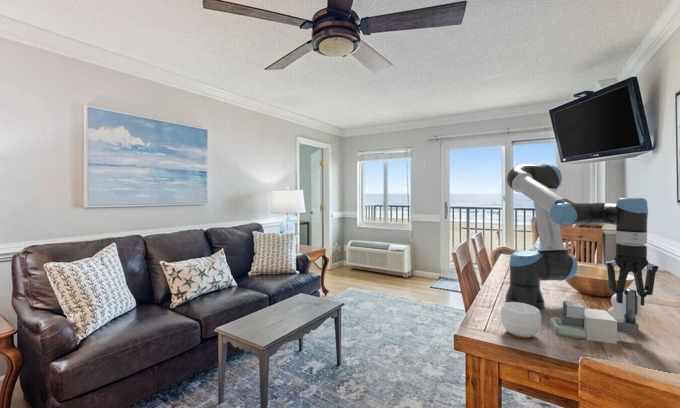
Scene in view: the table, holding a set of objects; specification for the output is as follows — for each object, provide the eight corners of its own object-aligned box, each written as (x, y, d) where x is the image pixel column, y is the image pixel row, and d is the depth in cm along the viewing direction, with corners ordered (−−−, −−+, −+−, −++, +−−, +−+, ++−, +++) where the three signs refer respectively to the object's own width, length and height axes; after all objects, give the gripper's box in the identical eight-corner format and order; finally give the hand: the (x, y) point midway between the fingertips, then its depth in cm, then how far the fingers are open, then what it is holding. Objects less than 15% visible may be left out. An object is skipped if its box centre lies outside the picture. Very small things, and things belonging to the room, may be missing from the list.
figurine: (623, 322, 118) (623, 291, 118) (643, 330, 110) (643, 297, 110) (605, 322, 118) (605, 291, 118) (624, 331, 110) (624, 298, 110)
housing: (586, 339, 104) (586, 317, 104) (577, 327, 113) (577, 307, 113) (616, 344, 101) (617, 321, 101) (604, 331, 110) (605, 310, 110)
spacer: (566, 316, 108) (567, 305, 108) (563, 311, 113) (563, 300, 113) (584, 318, 106) (584, 307, 106) (579, 313, 111) (579, 302, 111)
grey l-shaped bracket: (563, 324, 109) (563, 285, 109) (561, 321, 112) (561, 282, 112) (638, 334, 101) (639, 292, 101) (633, 330, 104) (634, 289, 104)
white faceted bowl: (498, 325, 116) (498, 299, 116) (536, 330, 112) (536, 303, 112) (502, 339, 105) (502, 311, 105) (545, 345, 100) (545, 316, 100)
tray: (556, 335, 107) (556, 327, 107) (550, 324, 117) (550, 317, 117) (585, 339, 104) (586, 331, 104) (576, 327, 113) (576, 320, 113)
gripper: (604, 244, 102) (603, 314, 103) (670, 247, 96) (668, 321, 97) (596, 241, 109) (595, 306, 110) (657, 243, 103) (655, 313, 103)
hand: (629, 313), depth 103 cm, fingers closed on grey l-shaped bracket, 3 cm apart
